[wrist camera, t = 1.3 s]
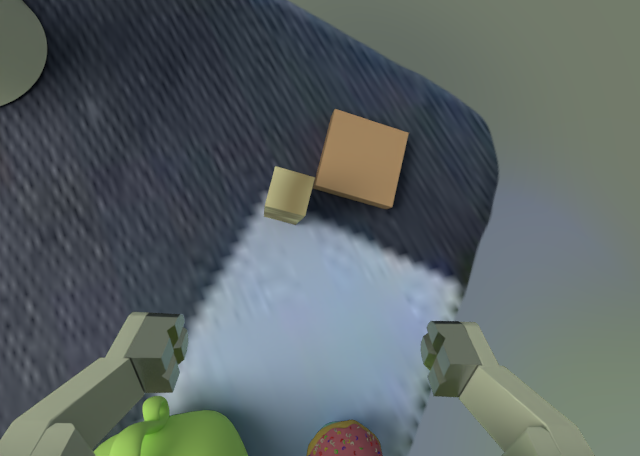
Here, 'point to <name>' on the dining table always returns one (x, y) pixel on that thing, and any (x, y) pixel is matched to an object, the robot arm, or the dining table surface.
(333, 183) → the tile
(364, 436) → the cupcake
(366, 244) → the dining table surface
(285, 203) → the post
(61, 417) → the robot arm
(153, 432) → the teapot
